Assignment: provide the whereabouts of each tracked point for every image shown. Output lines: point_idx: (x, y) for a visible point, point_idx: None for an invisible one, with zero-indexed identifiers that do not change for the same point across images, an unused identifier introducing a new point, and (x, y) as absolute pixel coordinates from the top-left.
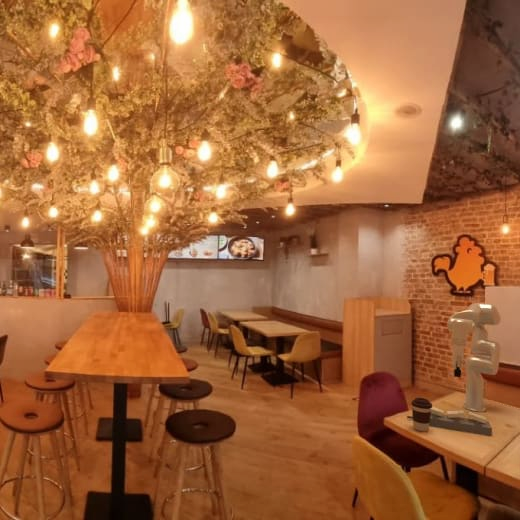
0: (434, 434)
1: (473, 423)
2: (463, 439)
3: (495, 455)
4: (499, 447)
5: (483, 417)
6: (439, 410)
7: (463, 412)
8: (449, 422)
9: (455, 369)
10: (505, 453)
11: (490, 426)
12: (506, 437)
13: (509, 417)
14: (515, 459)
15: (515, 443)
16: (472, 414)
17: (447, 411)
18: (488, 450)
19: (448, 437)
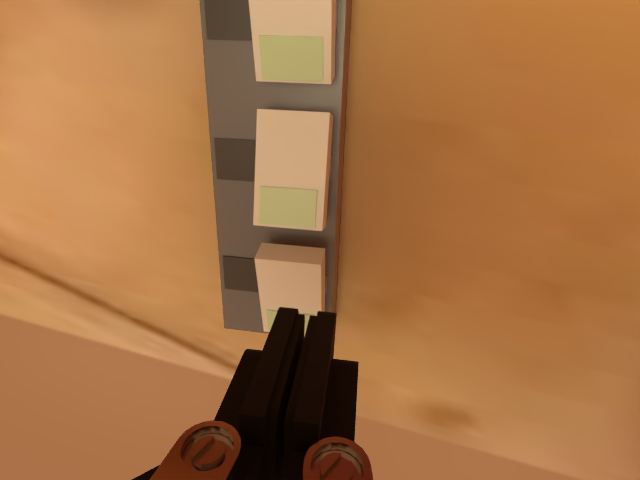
0: (86, 7)
1: (252, 254)
2: (115, 166)
3: (21, 265)
4: (119, 301)
5: None
6: (280, 47)
7: (268, 224)
8: (211, 113)
9: (239, 427)
10: (69, 306)
11: (250, 328)
12: None
13: (592, 460)
14: (35, 323)
15: (206, 372)
16: (270, 275)
17: (320, 116)
18: (54, 251)
19: (93, 90)
